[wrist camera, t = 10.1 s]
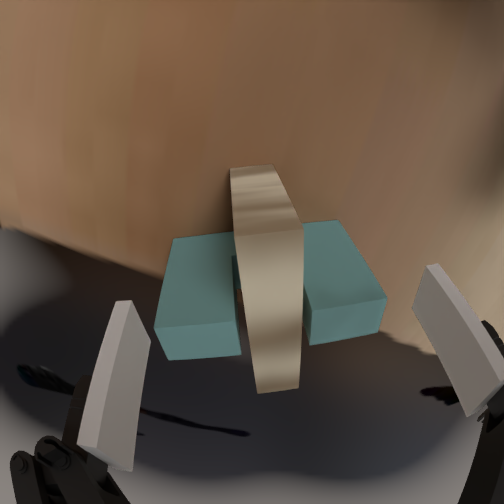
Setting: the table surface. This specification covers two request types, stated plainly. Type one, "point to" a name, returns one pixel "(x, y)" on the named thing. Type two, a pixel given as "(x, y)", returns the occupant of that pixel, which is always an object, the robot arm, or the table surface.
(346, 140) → the table surface
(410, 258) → the table surface
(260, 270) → the upper plate
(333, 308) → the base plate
